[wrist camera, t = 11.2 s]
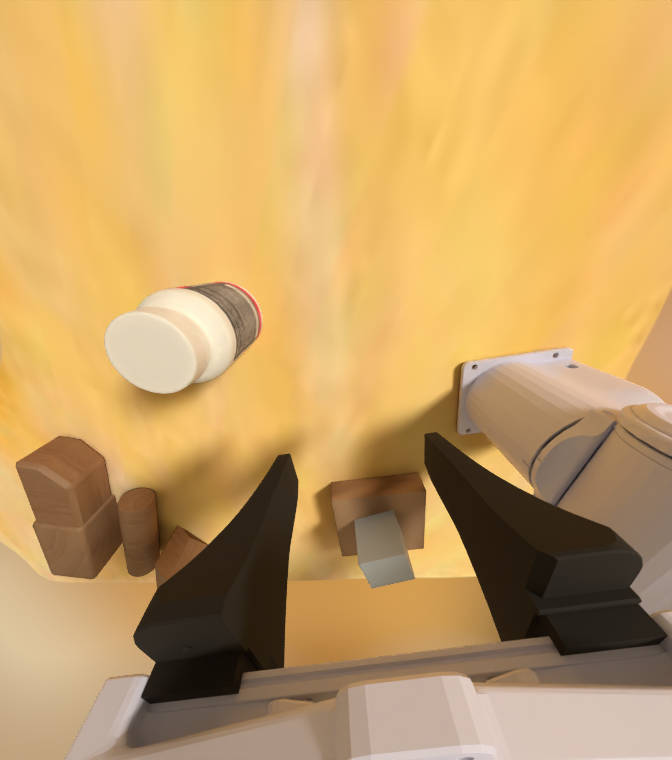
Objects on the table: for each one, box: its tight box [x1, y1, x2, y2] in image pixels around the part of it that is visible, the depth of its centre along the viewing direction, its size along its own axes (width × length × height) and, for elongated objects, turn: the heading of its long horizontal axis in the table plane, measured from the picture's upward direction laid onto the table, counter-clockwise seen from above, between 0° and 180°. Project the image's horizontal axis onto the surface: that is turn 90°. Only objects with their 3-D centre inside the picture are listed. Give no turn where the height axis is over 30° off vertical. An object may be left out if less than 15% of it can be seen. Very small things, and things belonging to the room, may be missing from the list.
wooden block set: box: [16, 436, 208, 588], centre depth 27 cm, size 17×6×18 cm
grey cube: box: [354, 510, 415, 588], centre depth 26 cm, size 4×4×4 cm
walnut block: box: [331, 473, 426, 556], centre depth 29 cm, size 10×10×3 cm
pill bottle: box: [104, 282, 263, 394], centre depth 15 cm, size 5×5×10 cm
